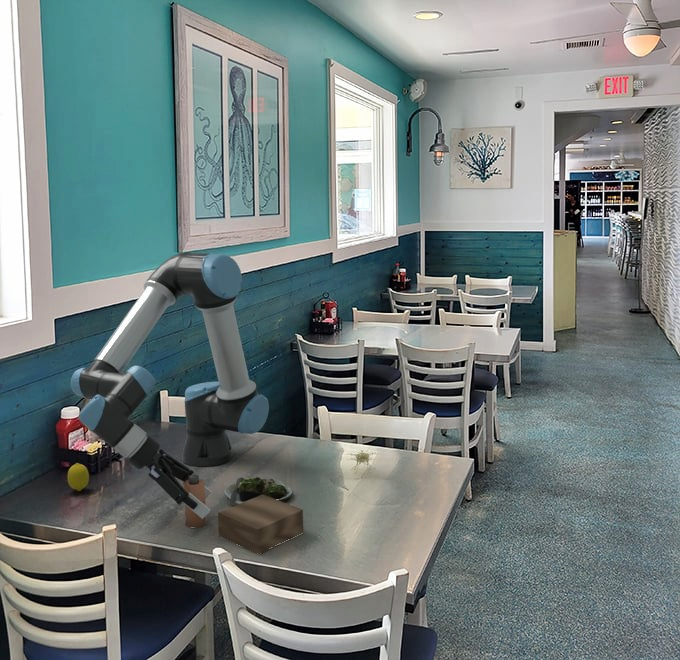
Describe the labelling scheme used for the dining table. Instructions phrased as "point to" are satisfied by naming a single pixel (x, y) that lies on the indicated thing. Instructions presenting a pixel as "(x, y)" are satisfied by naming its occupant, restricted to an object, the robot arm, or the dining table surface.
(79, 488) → the lemon
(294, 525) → the walnut block
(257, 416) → the robot arm
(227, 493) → the salad plate
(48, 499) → the dining table surface
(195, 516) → the sauce bottle
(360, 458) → the beige splat shape
